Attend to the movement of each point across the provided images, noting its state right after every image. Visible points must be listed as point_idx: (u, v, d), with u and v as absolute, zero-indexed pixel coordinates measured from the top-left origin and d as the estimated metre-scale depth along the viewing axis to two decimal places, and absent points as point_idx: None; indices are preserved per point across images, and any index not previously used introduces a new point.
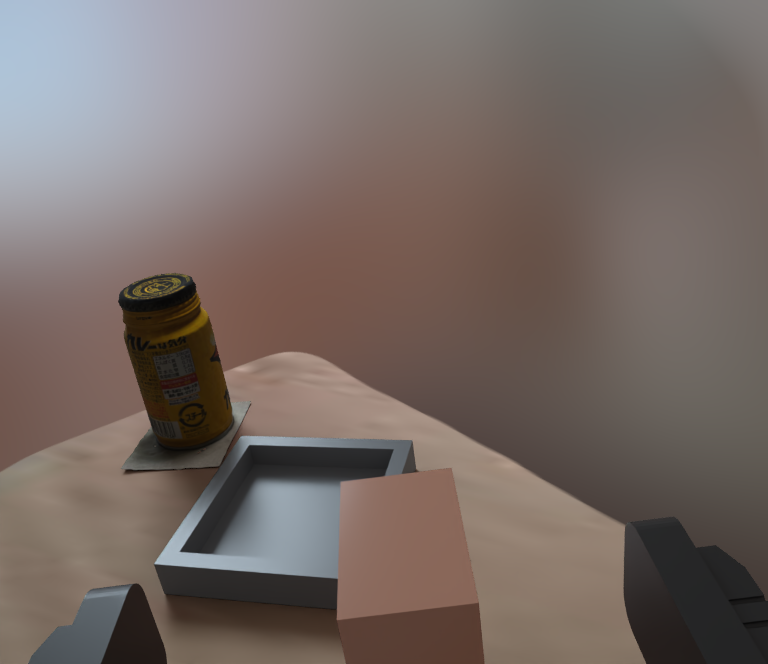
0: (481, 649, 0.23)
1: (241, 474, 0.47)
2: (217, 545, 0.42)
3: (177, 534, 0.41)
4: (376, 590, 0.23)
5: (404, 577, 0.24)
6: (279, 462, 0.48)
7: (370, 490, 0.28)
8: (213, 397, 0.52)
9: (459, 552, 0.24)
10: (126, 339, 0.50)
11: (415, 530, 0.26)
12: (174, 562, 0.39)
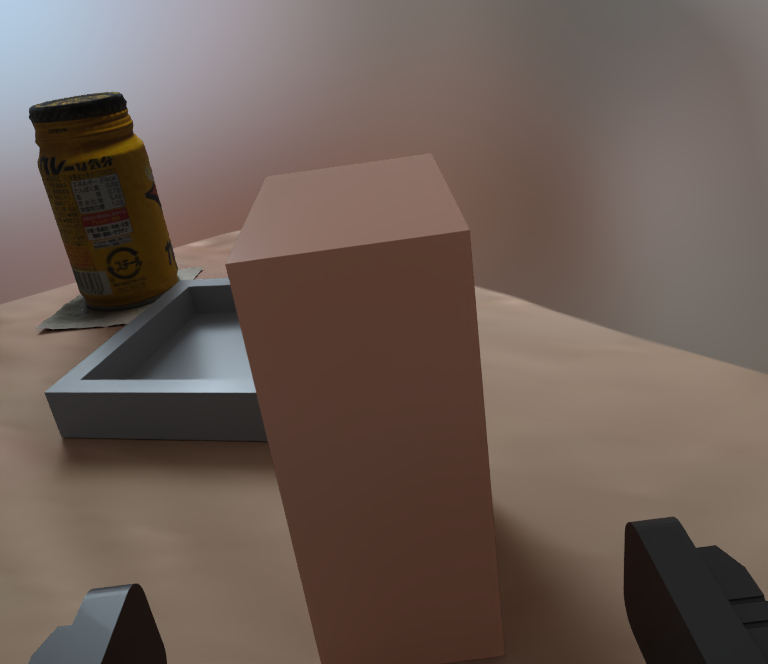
0: (475, 333, 0.14)
1: (177, 318, 0.37)
2: None
3: (82, 364, 0.31)
4: (298, 237, 0.14)
5: (347, 223, 0.14)
6: (227, 308, 0.39)
7: (308, 177, 0.19)
8: (150, 243, 0.42)
9: (438, 200, 0.15)
10: (39, 164, 0.40)
11: (370, 193, 0.16)
12: (71, 389, 0.29)
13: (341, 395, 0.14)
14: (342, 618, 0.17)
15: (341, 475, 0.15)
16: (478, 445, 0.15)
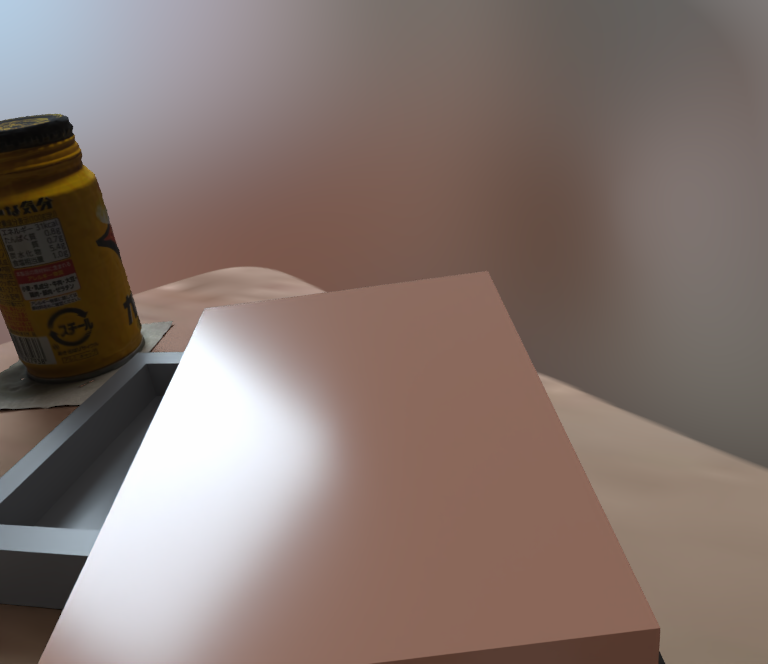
0: None
1: (129, 408, 0.29)
2: (65, 515, 0.24)
3: None
4: (222, 577, 0.06)
5: (340, 525, 0.06)
6: None
7: (275, 319, 0.11)
8: (103, 301, 0.34)
9: (537, 447, 0.07)
10: None
11: (387, 392, 0.08)
12: None
13: None
14: None
15: None
16: None
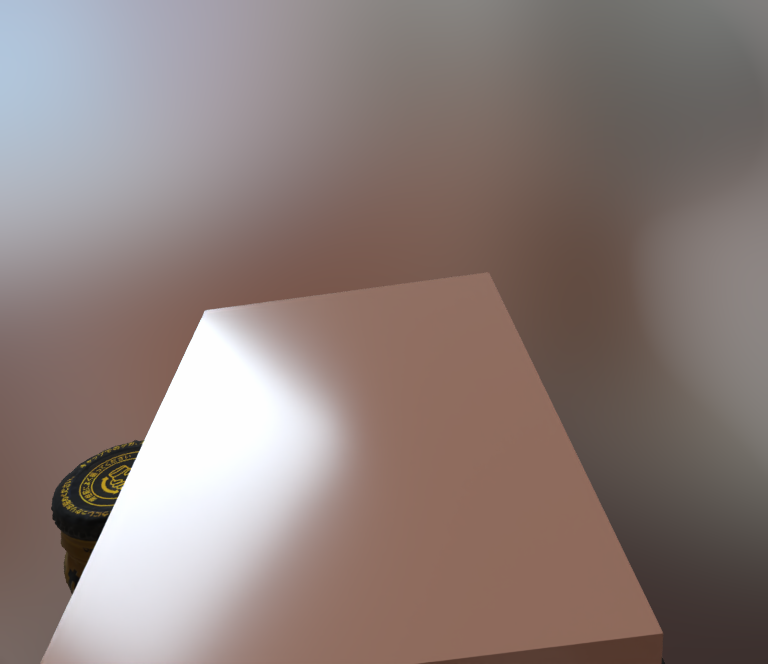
0: None
1: None
2: None
3: None
4: (222, 582, 0.06)
5: (341, 529, 0.06)
6: None
7: (276, 321, 0.11)
8: None
9: (539, 451, 0.07)
10: (67, 578, 0.26)
11: (388, 395, 0.08)
12: None
13: None
14: None
15: None
16: None
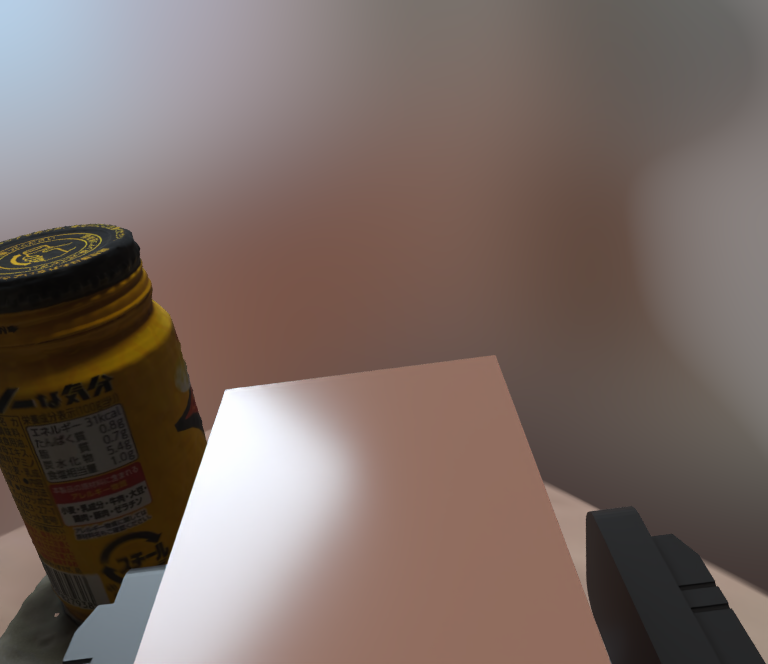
0: None
1: None
2: None
3: None
4: None
5: (360, 651, 0.07)
6: None
7: (293, 405, 0.11)
8: None
9: (542, 568, 0.07)
10: None
11: (401, 498, 0.09)
12: None
13: None
14: None
15: None
16: None
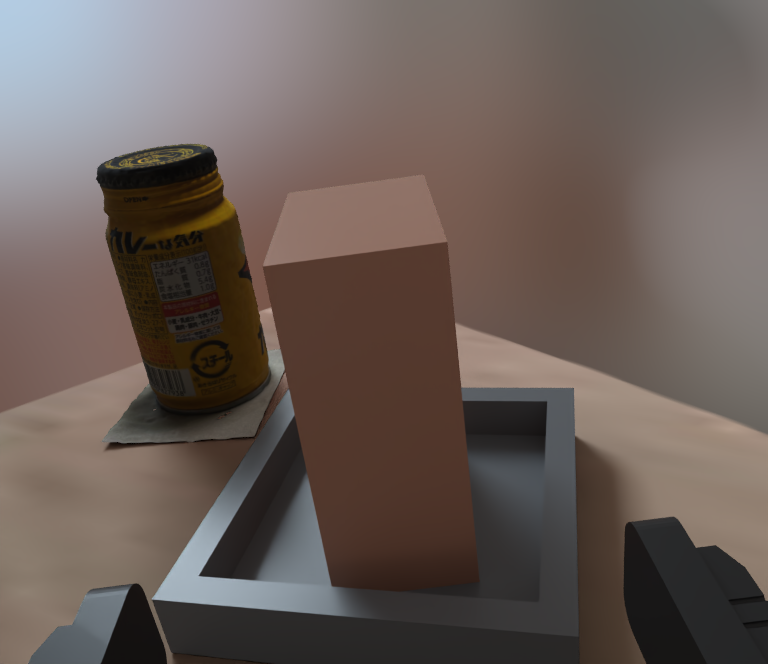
0: (452, 320, 0.18)
1: (293, 445, 0.29)
2: (263, 562, 0.24)
3: (194, 543, 0.23)
4: (317, 245, 0.18)
5: (355, 235, 0.19)
6: None
7: (323, 194, 0.23)
8: (242, 333, 0.34)
9: (426, 217, 0.19)
10: (109, 238, 0.32)
11: (373, 209, 0.21)
12: (190, 596, 0.21)
13: (348, 368, 0.19)
14: (348, 548, 0.21)
15: (349, 430, 0.19)
16: (455, 408, 0.19)
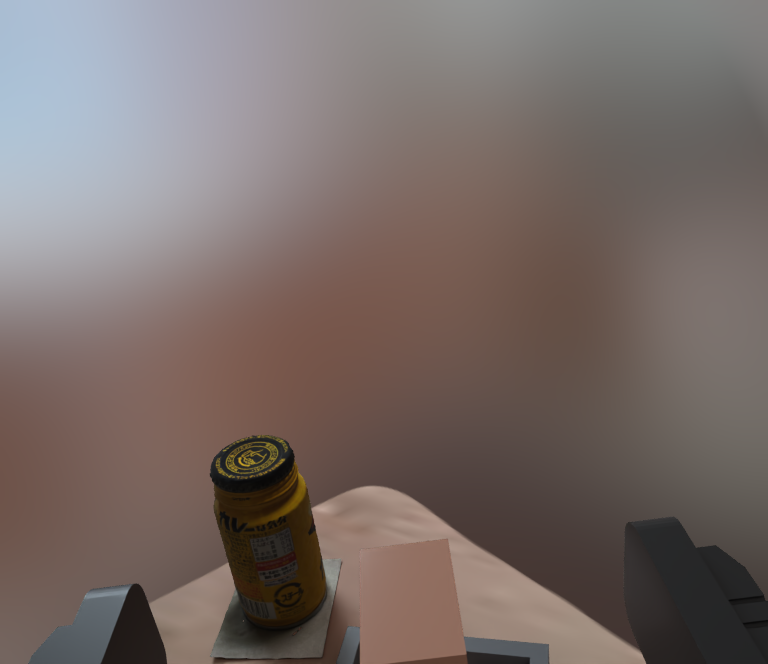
0: None
1: None
2: None
3: None
4: (389, 643, 0.31)
5: (410, 632, 0.31)
6: None
7: (383, 557, 0.36)
8: (310, 572, 0.47)
9: (452, 613, 0.32)
10: (218, 517, 0.44)
11: (418, 593, 0.33)
12: None
13: None
14: None
15: None
16: None
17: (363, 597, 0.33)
